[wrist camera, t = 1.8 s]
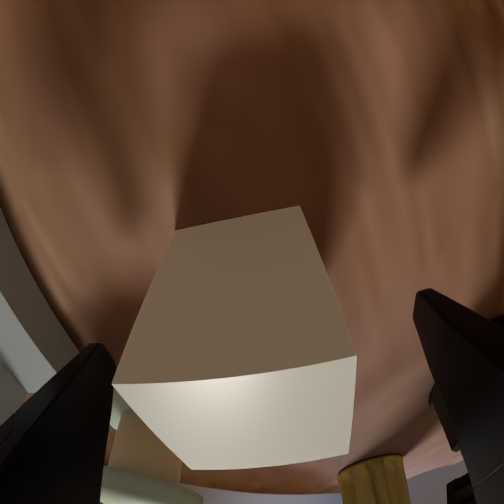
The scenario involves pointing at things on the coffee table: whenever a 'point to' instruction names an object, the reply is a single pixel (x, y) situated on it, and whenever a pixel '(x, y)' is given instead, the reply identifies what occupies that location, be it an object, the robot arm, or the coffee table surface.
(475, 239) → the coffee table surface
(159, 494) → the spool
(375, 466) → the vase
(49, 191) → the coffee table surface
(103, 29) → the coffee table surface
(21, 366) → the notch board
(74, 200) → the coffee table surface
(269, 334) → the block
